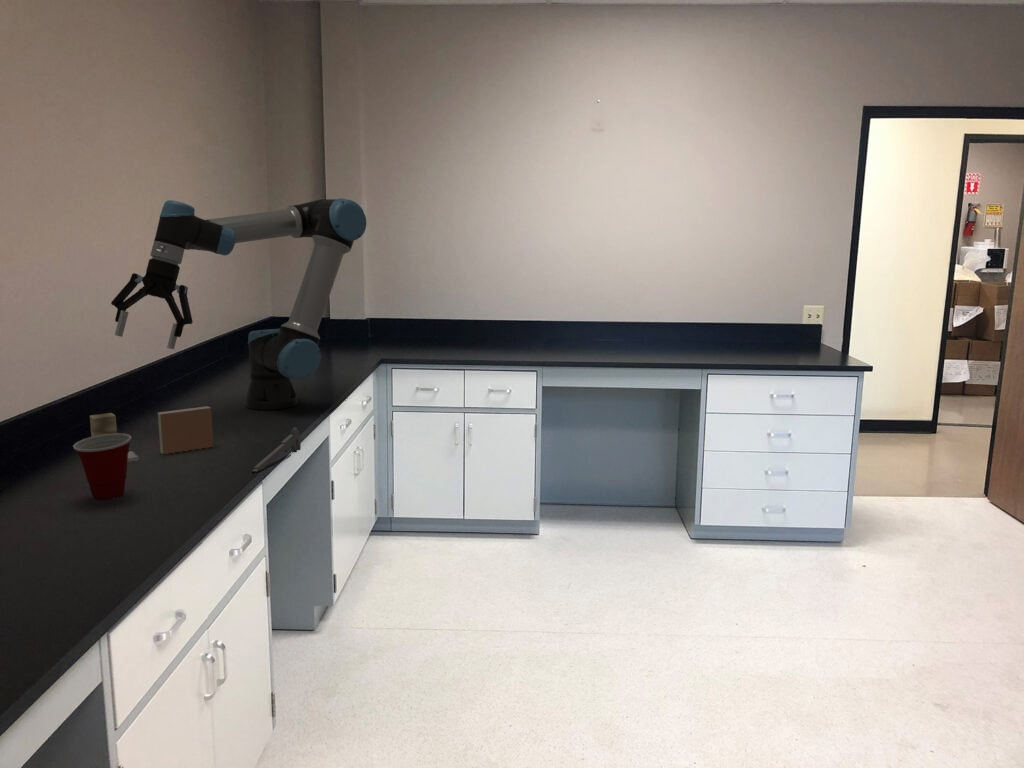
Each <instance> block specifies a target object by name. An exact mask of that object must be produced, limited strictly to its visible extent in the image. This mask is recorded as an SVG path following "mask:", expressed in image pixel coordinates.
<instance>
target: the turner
mask: <svg viewBox="0 0 1024 768" xmlns="http://www.w3.org/2000/svg"><path fill="white" fill-rule="evenodd" d="M89 422H90V423H89V424H90V425H89V426H90V435H91V436H90V437H93V436H98V435H103V434H113V433H118V427H117V416H116V415H115V414H114V413H112V412H108V413H100V414H92V415H89ZM138 460H139V461H140V456H138V455H137V454H136V453H135V452H134V451H130V450H129V453H128V460H127V462H129V463H133V462H132V461H135V462H139V461H138Z"/></svg>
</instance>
